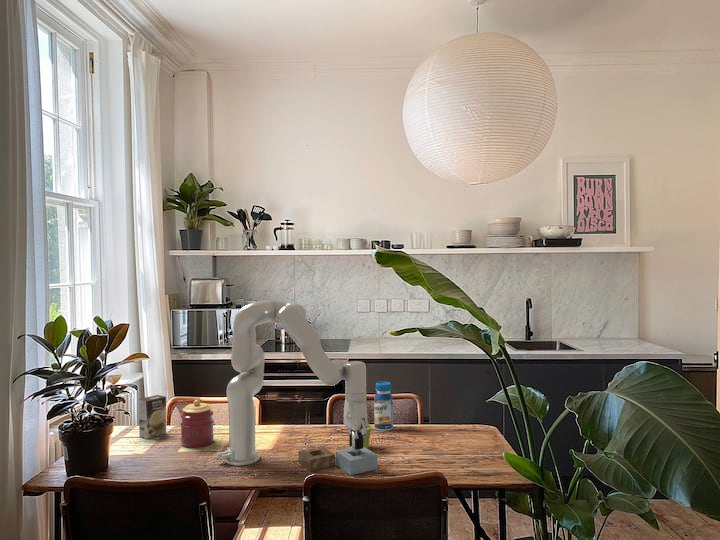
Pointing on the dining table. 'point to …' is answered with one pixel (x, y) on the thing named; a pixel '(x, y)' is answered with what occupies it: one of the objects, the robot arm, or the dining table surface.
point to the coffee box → (152, 416)
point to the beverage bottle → (383, 407)
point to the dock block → (356, 461)
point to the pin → (354, 451)
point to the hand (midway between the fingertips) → (356, 446)
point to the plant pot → (367, 436)
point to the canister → (197, 425)
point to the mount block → (316, 458)
